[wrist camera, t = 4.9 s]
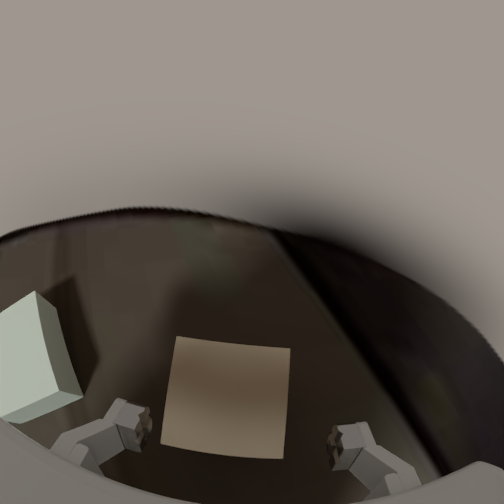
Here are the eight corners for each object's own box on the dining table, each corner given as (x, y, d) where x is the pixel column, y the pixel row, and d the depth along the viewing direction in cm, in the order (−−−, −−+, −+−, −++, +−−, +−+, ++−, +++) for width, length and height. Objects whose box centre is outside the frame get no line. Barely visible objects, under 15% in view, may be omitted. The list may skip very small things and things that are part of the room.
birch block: (263, 438, 16) (282, 458, 8) (194, 431, 16) (160, 443, 9) (269, 375, 19) (290, 348, 11) (202, 368, 19) (176, 335, 11)
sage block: (23, 424, 14) (-5, 419, 10) (2, 342, 17) (-22, 328, 14) (85, 397, 17) (59, 390, 13) (57, 309, 21) (34, 290, 17)
